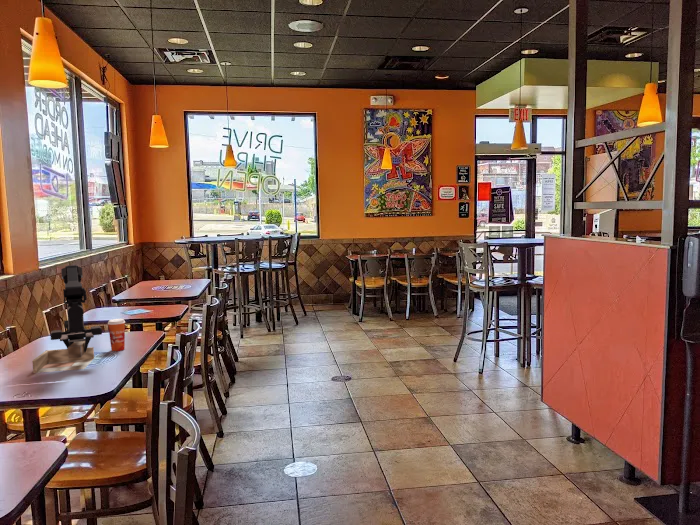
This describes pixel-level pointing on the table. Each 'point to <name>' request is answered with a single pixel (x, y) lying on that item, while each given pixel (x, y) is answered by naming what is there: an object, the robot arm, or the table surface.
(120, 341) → the paper cup
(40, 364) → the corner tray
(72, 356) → the walnut block
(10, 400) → the table surface
